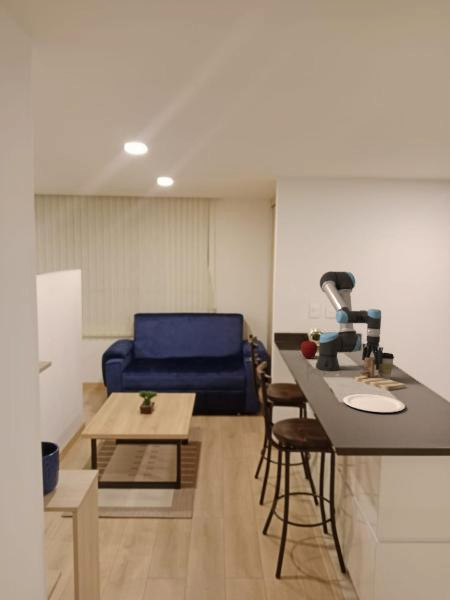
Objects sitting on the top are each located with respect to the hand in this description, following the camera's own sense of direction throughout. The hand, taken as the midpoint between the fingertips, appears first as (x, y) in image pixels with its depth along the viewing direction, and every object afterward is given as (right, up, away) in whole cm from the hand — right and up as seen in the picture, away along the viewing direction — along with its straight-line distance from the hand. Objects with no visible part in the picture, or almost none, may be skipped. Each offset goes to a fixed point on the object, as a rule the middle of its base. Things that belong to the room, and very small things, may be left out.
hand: (371, 373), depth 285 cm
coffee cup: (+9, -4, +5) cm, 11 cm away
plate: (-14, -8, -49) cm, 52 cm away
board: (+1, -4, -8) cm, 9 cm away
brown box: (-3, -2, -1) cm, 3 cm away
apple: (-27, +2, +59) cm, 65 cm away
